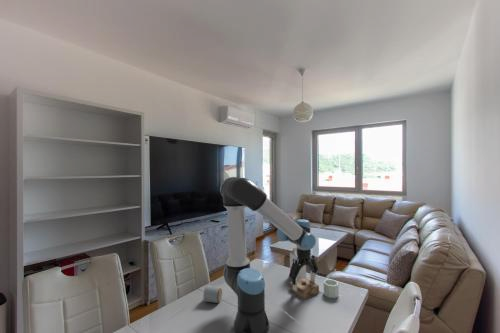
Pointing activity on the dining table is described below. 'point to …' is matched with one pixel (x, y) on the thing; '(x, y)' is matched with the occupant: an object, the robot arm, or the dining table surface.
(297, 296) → the mat
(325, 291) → the octagonal pipe section
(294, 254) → the milk carton
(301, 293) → the lid
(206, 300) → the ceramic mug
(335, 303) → the dining table surface
